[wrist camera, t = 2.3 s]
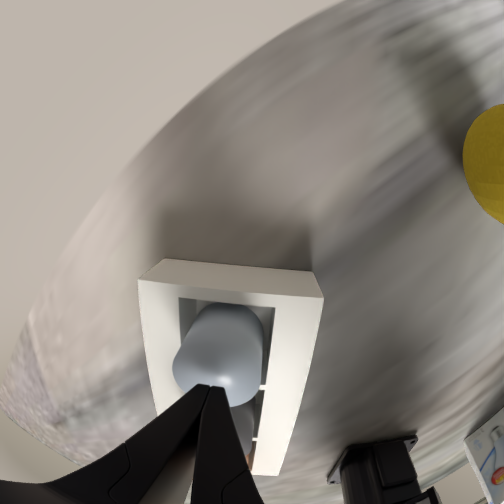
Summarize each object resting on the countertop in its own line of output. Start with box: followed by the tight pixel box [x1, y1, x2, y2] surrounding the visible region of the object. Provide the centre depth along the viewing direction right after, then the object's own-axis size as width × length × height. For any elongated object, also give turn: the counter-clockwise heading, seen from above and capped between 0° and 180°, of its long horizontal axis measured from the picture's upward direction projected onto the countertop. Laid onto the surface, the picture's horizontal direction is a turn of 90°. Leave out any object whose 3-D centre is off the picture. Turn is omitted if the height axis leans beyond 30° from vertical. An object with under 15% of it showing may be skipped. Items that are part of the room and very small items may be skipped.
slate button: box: [172, 302, 264, 407], centre depth 10 cm, size 3×3×3 cm
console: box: [137, 258, 324, 476], centre depth 13 cm, size 7×13×3 cm, turn 176°
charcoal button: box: [230, 396, 256, 456], centre depth 11 cm, size 3×3×3 cm
